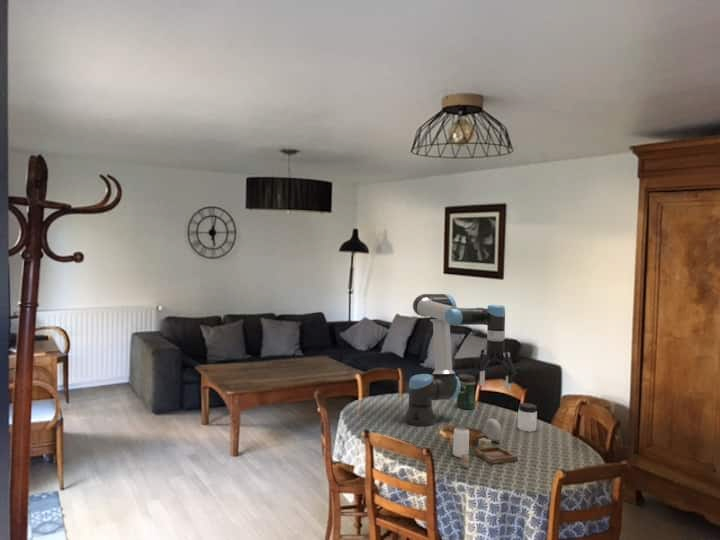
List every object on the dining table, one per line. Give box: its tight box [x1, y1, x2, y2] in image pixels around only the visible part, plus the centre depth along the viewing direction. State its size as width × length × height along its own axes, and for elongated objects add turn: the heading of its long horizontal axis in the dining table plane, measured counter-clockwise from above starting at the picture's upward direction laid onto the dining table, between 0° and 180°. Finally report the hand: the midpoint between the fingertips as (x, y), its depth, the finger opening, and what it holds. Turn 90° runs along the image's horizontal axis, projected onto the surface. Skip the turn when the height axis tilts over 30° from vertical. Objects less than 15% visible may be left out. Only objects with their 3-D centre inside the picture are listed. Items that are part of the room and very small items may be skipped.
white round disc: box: [484, 418, 502, 442], centre depth 260 cm, size 10×3×10 cm, turn 26°
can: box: [452, 424, 470, 458], centre depth 239 cm, size 6×6×12 cm
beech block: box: [477, 437, 492, 449], centre depth 249 cm, size 4×4×4 cm
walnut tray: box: [473, 445, 519, 466], centre depth 238 cm, size 13×13×2 cm
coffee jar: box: [456, 373, 477, 410], centre depth 314 cm, size 10×8×19 cm
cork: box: [460, 453, 470, 469], centre depth 227 cm, size 3×3×4 cm
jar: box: [517, 402, 538, 433], centre depth 279 cm, size 9×8×12 cm
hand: (494, 388), depth 249 cm, fingers open, 13 cm apart
